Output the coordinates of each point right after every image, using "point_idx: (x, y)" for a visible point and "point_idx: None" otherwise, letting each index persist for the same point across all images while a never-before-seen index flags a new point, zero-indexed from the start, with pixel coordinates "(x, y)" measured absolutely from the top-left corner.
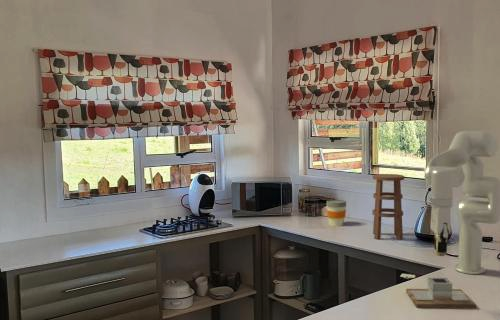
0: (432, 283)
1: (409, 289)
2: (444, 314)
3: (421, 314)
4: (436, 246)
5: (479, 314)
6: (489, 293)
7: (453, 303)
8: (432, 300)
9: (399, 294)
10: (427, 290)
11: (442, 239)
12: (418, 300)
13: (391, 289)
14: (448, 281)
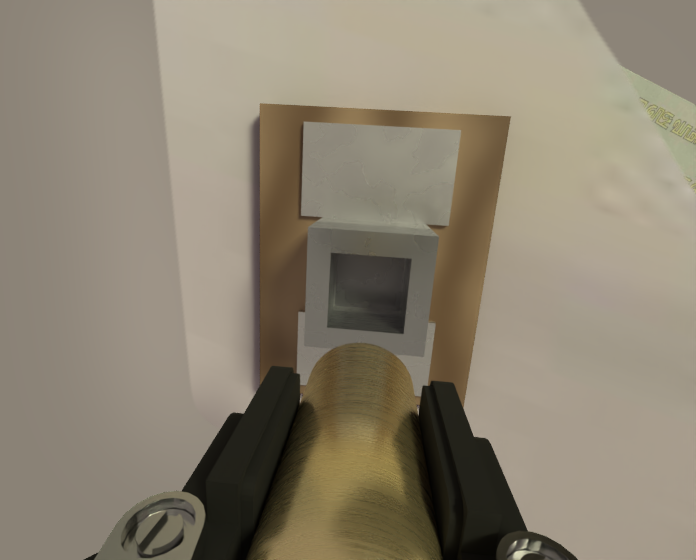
0: (318, 227)
1: (494, 133)
2: (186, 220)
3: (176, 106)
4: (346, 408)
5: (199, 365)
6: None
7: (266, 298)
8: (301, 208)
9: (474, 66)
10: (464, 236)
11: None
12: (304, 130)
13: (572, 36)
14: (348, 340)
